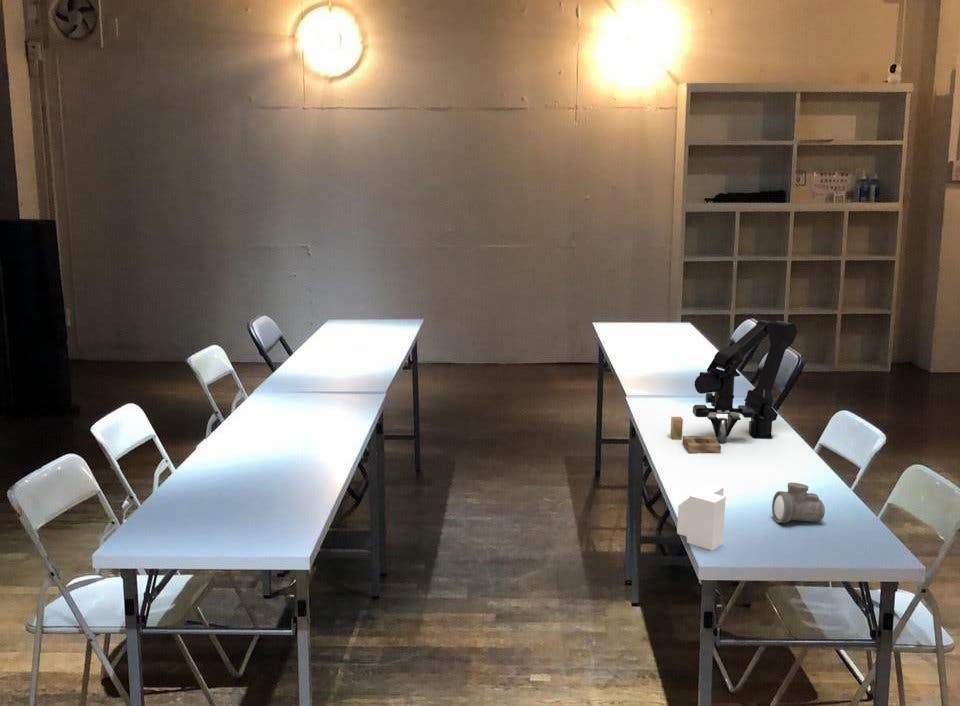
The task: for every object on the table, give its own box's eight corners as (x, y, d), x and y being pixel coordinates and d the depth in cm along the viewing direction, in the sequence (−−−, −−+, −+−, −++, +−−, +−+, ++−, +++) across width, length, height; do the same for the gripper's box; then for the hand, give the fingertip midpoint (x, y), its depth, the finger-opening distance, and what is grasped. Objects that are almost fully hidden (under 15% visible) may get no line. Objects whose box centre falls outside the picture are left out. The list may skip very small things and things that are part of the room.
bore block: (713, 444, 301) (713, 436, 301) (720, 453, 292) (721, 445, 291) (682, 443, 302) (682, 436, 301) (688, 453, 292) (689, 445, 291)
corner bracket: (712, 550, 220) (715, 502, 217) (670, 537, 227) (672, 491, 225) (732, 537, 227) (736, 490, 225) (691, 525, 235) (694, 480, 232)
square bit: (679, 437, 309) (680, 416, 307) (681, 439, 306) (682, 419, 304) (670, 436, 309) (671, 416, 308) (672, 439, 306) (673, 419, 304)
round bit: (724, 441, 305) (726, 417, 303) (726, 443, 302) (728, 420, 300) (715, 441, 305) (717, 417, 303) (717, 443, 302) (719, 420, 300)
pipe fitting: (779, 526, 233) (786, 487, 232) (768, 517, 241) (774, 478, 240) (825, 531, 234) (832, 492, 233) (812, 521, 242) (819, 483, 241)
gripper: (747, 384, 307) (743, 429, 311) (690, 383, 308) (688, 429, 311) (756, 392, 296) (752, 439, 300) (697, 392, 297) (694, 439, 300)
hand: (721, 436), depth 303 cm, fingers open, 3 cm apart
